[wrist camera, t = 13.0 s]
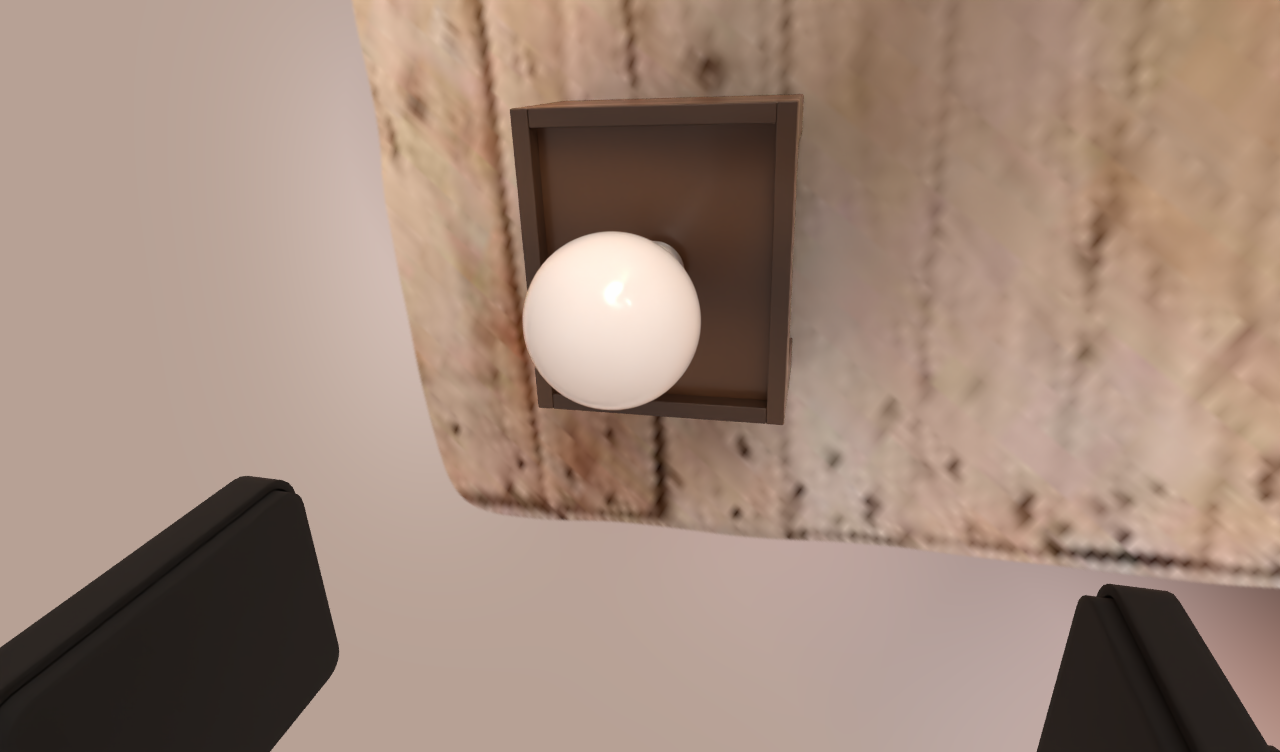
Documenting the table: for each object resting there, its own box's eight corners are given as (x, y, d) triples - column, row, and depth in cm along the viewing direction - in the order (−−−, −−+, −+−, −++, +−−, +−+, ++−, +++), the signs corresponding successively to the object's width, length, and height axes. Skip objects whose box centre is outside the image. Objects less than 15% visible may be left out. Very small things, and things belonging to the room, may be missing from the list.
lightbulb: (598, 184, 33) (497, 238, 23) (739, 209, 32) (698, 276, 22) (584, 318, 35) (489, 418, 25) (715, 345, 34) (668, 459, 24)
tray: (563, 100, 37) (509, 108, 31) (803, 94, 35) (798, 101, 28) (581, 357, 43) (538, 407, 37) (790, 368, 40) (783, 425, 34)
